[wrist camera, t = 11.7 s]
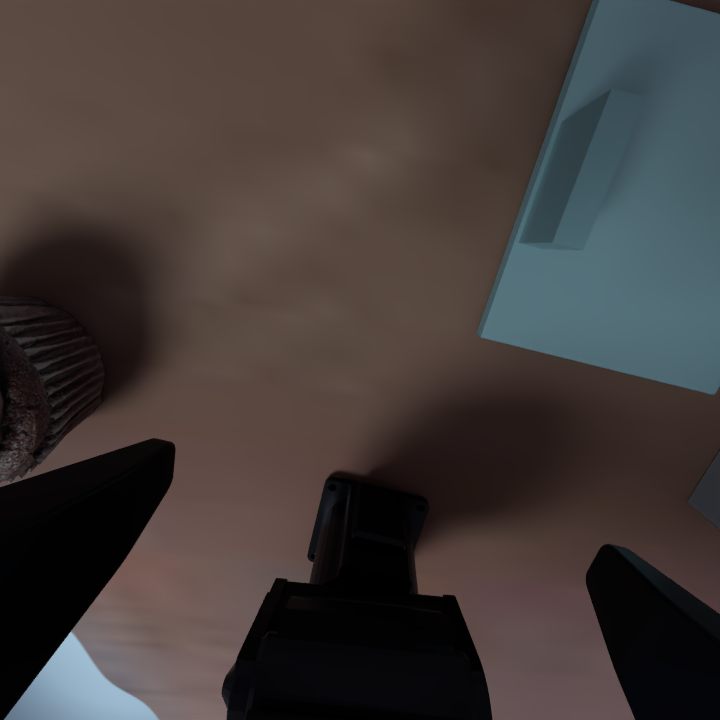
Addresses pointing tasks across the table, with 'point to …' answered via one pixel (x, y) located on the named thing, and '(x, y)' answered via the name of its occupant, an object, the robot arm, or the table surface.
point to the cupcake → (42, 381)
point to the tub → (708, 493)
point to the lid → (625, 204)
